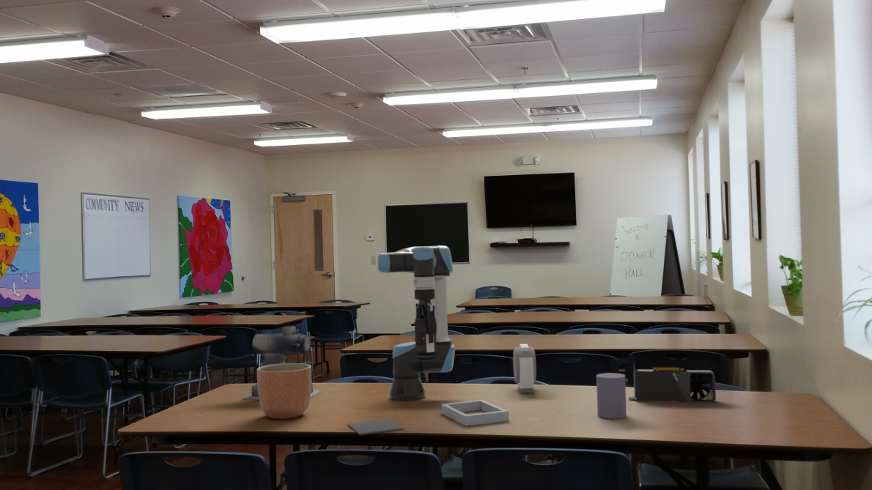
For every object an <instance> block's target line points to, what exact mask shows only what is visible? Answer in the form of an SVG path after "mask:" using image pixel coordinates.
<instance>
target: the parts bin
mask: <svg viewBox="0 0 872 490" xmlns="http://www.w3.org/2000/svg"><path fill="white" fill-rule="evenodd" d="M440 406H441V407H440V408H441V414H442V415H443V416H446V417H448V418H450V419H451V420H454V421H455V422H457V423H459V424H461V425H462V426H464V425H465V427H469V426H468V425H471V426H476V425H477V426H478V424H479V425H486V424H494V422H495V423H503V422H509V421H510V411H509V410H507V409H504V408H502V407H500V406H498V405H495V404H493V403H491V402H488V401H485V400H483V399H478V400H477V399H476V400H469V401H459V402H458V401H457V402H451V403H441V405H440ZM475 410H476V411H482V413H480V412H479V413H473V414H466V412H465V411H467V412H475Z"/></svg>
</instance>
